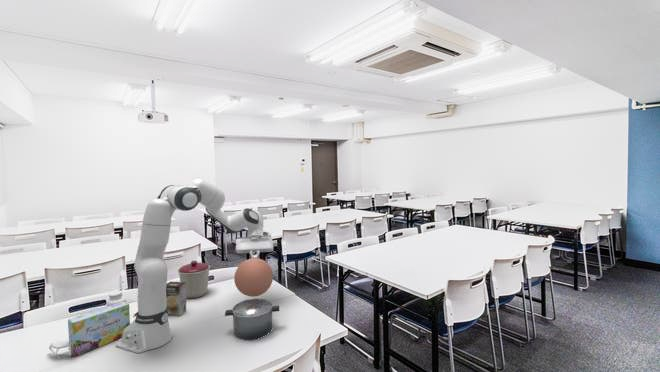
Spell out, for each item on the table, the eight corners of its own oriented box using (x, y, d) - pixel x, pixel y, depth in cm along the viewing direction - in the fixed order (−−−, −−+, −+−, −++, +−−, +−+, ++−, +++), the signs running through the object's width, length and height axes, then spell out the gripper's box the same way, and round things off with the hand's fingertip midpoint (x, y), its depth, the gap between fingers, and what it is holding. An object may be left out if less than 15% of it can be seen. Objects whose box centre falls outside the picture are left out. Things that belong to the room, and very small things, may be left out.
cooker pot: (222, 343, 135) (222, 319, 135) (229, 321, 154) (228, 300, 154) (280, 337, 140) (279, 313, 139) (279, 316, 158) (279, 296, 158)
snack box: (74, 358, 126) (71, 322, 125) (69, 353, 129) (67, 319, 128) (131, 334, 143) (129, 303, 142) (125, 331, 147) (123, 300, 145)
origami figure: (84, 346, 133) (83, 335, 133) (70, 359, 125) (68, 347, 124) (55, 349, 132) (54, 338, 132) (38, 362, 124) (37, 350, 124)
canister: (184, 304, 174) (182, 267, 173) (174, 294, 188) (173, 260, 186) (215, 294, 187) (214, 260, 185) (204, 286, 200) (203, 254, 199)
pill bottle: (104, 323, 154) (102, 294, 153) (121, 316, 161) (120, 288, 160) (113, 327, 150) (111, 297, 149) (130, 320, 157) (128, 291, 156)
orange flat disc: (233, 260, 154) (234, 258, 157) (234, 298, 154) (235, 296, 157) (272, 257, 158) (272, 256, 161) (273, 295, 157) (273, 293, 160)
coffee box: (163, 315, 161) (162, 285, 160) (171, 310, 168) (169, 281, 166) (180, 316, 160) (179, 286, 159) (187, 310, 167) (186, 281, 166)
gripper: (235, 234, 170) (233, 257, 161) (273, 232, 173) (273, 254, 164) (236, 240, 174) (234, 262, 165) (273, 238, 178) (273, 260, 169)
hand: (254, 258), depth 165 cm, fingers closed
